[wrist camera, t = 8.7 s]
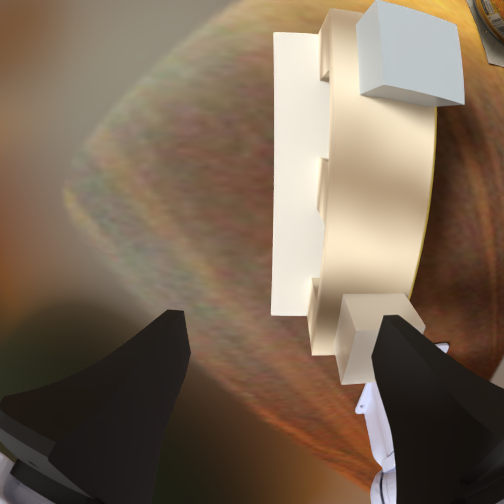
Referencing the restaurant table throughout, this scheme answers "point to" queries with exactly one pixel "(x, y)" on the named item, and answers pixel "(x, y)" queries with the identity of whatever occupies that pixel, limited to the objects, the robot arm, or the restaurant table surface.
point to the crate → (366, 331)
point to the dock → (301, 170)
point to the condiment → (490, 27)
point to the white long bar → (366, 186)
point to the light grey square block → (409, 56)
